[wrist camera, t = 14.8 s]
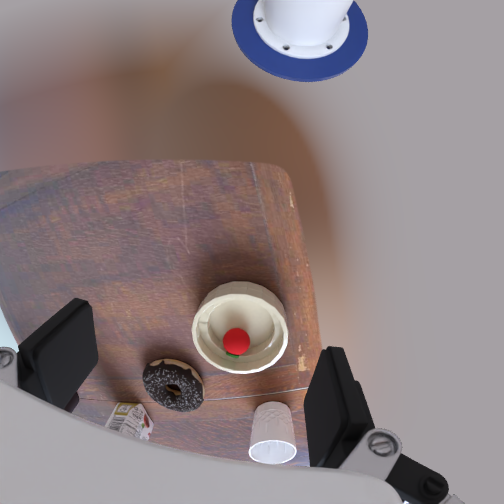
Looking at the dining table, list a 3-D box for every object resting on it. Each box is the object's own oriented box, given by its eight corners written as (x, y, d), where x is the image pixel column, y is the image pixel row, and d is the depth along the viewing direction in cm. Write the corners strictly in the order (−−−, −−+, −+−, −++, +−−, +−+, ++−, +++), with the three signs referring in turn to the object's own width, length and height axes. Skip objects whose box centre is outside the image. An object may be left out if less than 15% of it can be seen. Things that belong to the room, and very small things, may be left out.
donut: (185, 348, 46) (179, 363, 43) (218, 396, 49) (215, 411, 46) (136, 363, 48) (128, 376, 44) (169, 406, 51) (164, 420, 47)
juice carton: (143, 400, 51) (110, 471, 33) (158, 427, 54) (133, 495, 35) (113, 398, 52) (77, 463, 34) (130, 424, 54) (101, 487, 36)
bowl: (182, 308, 44) (173, 325, 39) (251, 261, 41) (249, 274, 37) (234, 366, 47) (231, 385, 42) (302, 328, 44) (306, 346, 39)
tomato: (221, 323, 43) (214, 350, 42) (238, 330, 40) (229, 359, 39) (242, 326, 45) (234, 352, 45) (259, 334, 42) (250, 361, 42)
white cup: (293, 423, 51) (295, 463, 41) (253, 425, 51) (250, 464, 42) (293, 397, 49) (297, 439, 39) (250, 399, 49) (246, 440, 40)
